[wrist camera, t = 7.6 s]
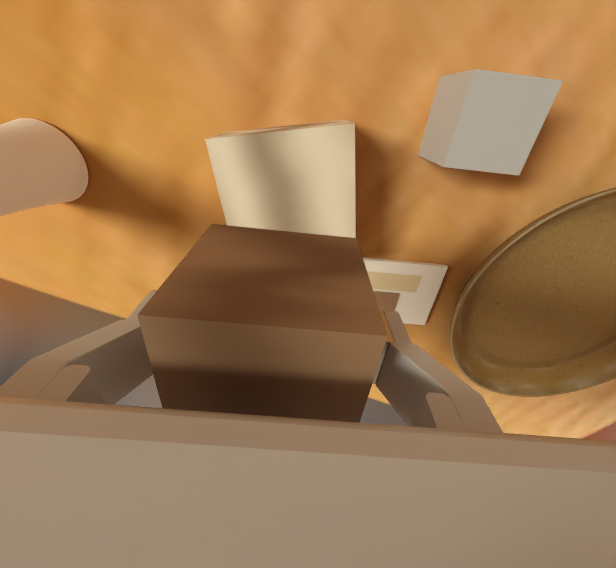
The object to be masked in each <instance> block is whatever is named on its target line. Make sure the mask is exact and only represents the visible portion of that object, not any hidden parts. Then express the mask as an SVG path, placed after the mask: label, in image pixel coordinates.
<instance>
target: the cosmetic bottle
mask: <svg viewBox="0 0 616 568" xmlns="http://www.w3.org/2000/svg"><path fill="white" fill-rule="evenodd" d="M87 185H88V170H87V166H86V163H85V160H84V158H83V156H82V155H81V153H80V151H79V150H78V148H77V147H76V146H75V144H74V143H73V142H72V141H71V140H70V139H69V138H68V137H67V136H66V135H65V134H64V133H62V132H61V131H60V130H58V129H57V128H55V127H53V126H52V125H50V124H48V123H46V122H43V121H40V120H36V119H31V118H21V119H16V120H13V121H10V122H7V123H4V124H1V125H0V216H4V215H7V214H11V213H15V212H19V211H23V210H27V209H31V208H36V207H41V206H46V205H51V204H57V203H65V202H70V201H74V200H76V199H78V198H79V197H80V196H82V195H83V193H84V192H85V190H86V188H87Z"/></svg>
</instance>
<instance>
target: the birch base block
mask: <svg viewBox="0 0 616 568" xmlns="http://www.w3.org/2000/svg"><path fill="white" fill-rule="evenodd" d="M205 140H206V144H207V148H208V152H209V156H210V160H211V164H212V168H213V172H214V176H215V180H216V184H217V188H218V192H219V196H220V200H221V204H222V208H223V212H224V216H225V220H226V224H227V225H228V226H238V227H249V228H259V229H269V230H279V231H289V232H299V233H309V234H320V235H330V236H340V237H350V238H356V215H355V123H353V122H350V121H348V120H337V121H327V122H318V123H309V124H299V125H290V126H280V127H271V128H262V129H252V130H243V131H234V132H224V133H221V134H219V135H216V136H213V137H210V138H207V139H205Z"/></svg>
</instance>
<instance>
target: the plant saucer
mask: <svg viewBox="0 0 616 568" xmlns="http://www.w3.org/2000/svg"><path fill="white" fill-rule="evenodd" d="M450 346H451V352H452V355H453V358H454V361H455V363H456V365H457V366H458V368H459V369H460V371H461V372H462V373H463V374H464V375H465V376H466V377H467V378H468V379H469V380H470V381H472V382H473V383H475V384H476V385H478V386H480V387H482V388H484V389H487V390H489V391H492V392H496V393H500V394H505V395H510V396H521V397H539V396H550V395H558V394H564V393H569V392H573V391H577V390H581V389H585V388H589V387H592V386H595V385H598V384H601V383H604V382H607V381H610V380H612V379H615V378H616V188H613V189H609V190H606V191H602V192H599V193H596V194H592V195H589V196H586V197H583V198H581V199H578V200H576V201H573V202H571V203H568V204H566V205H563V206H561V207H559V208H557V209H555V210H553V211H551V212H549V213H547V214H545V215H543V216H542V217H540V218H538V219H536V220H535V221H533V222H531V223H530V224H528V225H527V226H525V227H524V228H522V229H521V230H519V231H518V232H516V233H515V234H514V235H513V236H511V237H510V238H509V239H507V240H506V241H505V242H504V243H502V244H501V245H500V246H499V247H498V248H497V249H496V250H495V251H494V252H493V253H492V254H491V255H490V256H489V257H488V258H487V259H486V260H485V261H484V262H483V263H482V264H481V265H480V266H479V268H478V269H477V270H476V271H475V273H474V274H473V275H472V277H471V278H470V280H469V281H468V283H467V284H466V286H465V288H464V290H463V291H462V293H461V295H460V297H459V299H458V302H457V304H456V307H455V310H454V313H453V317H452V322H451V328H450Z"/></svg>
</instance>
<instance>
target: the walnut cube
mask: <svg viewBox="0 0 616 568" xmlns="http://www.w3.org/2000/svg"><path fill="white" fill-rule="evenodd" d="M137 316H138V320H139V323H140V327H141V331H142V334H143V338H144V342H145V345H146V349H147V353H148V356H149V360H150V364H151V367H152V371H153V374H154V378H155V382H156V386H157V389H158V393H159V397H160V400H161V404H162V408H165V409H179V410H192V411H206V412H220V413H234V414H248V415H261V416H275V417H289V418H303V419H316V420H330V421H343V422H357V423H359V422H360V419H361V416H362V413H363V410H364V407H365V404H366V401H367V398H368V395H369V392H370V389H371V386H372V383H373V379H374V376H375V373H376V370H377V367H378V364H379V361H380V358H381V355H382V352H383V349H384V346H385V343H386V340H387V337H388V336H387V333H386V329H385V326H384V323H383V320H382V317H381V314H380V311H379V307H378V304H377V301H376V298H375V295H374V292H373V289H372V285H371V282H370V279H369V276H368V273H367V270H366V267H365V263H364V260H363V257H362V254H361V251H360V248H359V245H358V241H357V238H350V237H340V236H330V235H320V234H309V233H299V232H289V231H279V230H269V229H259V228H249V227H238V226H228V225H218V224H211V226H210V227H209V228H208V229H207V231H206V232H205V233H204V234H203V235H202V237H201V238H200V239H199V240H198V242H197V243H196V244H195V245H194V246H193V248H192V249H191V250H190V251H189V252H188V254H187V255H186V256H185V257H184V259H183V260H182V261H181V262H180V263H179V265H178V266H177V267H176V268H175V270H174V271H173V272H172V273H171V274H170V276H169V277H168V278H167V279H166V280H165V282H164V283H163V284H162V285H161V287H160V288H159V289H158V290H157V291H156V293H155V294H154V295H153V296H152V298H151V299H150V300H149V301H148V302H147V304H146V305H145V306H144V307H143V308H142V310H141V311H140V312H139V313H138V315H137Z"/></svg>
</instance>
